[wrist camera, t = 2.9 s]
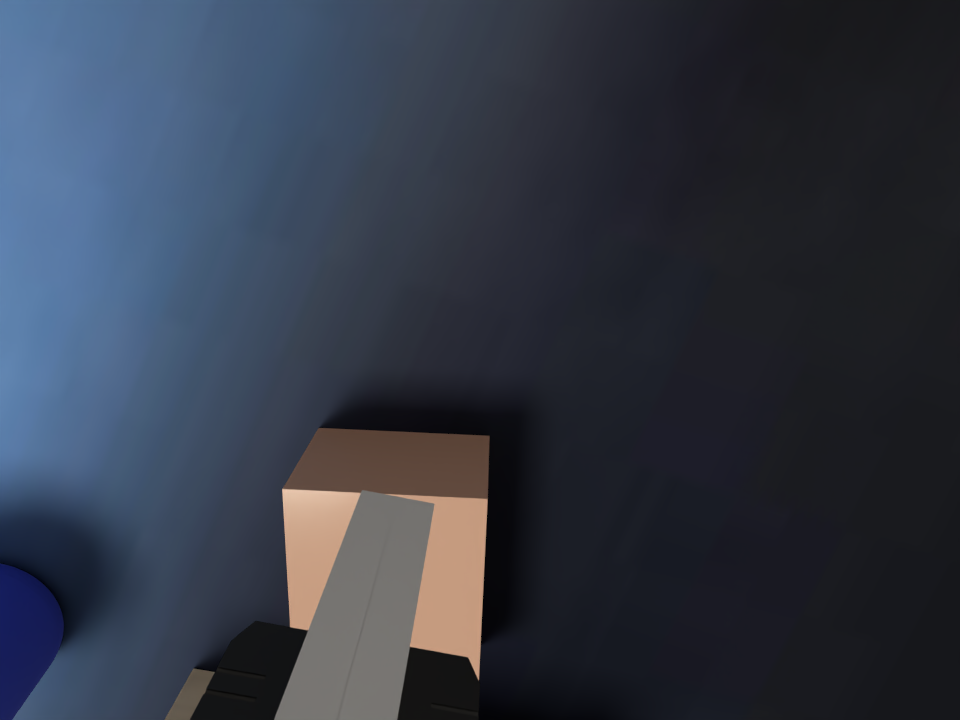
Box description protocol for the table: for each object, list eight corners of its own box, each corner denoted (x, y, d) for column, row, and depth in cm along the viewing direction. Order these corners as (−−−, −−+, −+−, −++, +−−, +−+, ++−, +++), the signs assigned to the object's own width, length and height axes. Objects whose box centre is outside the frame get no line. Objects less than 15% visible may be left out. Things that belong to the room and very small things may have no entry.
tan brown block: (319, 426, 33) (282, 489, 27) (489, 434, 33) (487, 498, 27) (327, 635, 37) (296, 728, 31) (479, 642, 37) (476, 737, 31)
